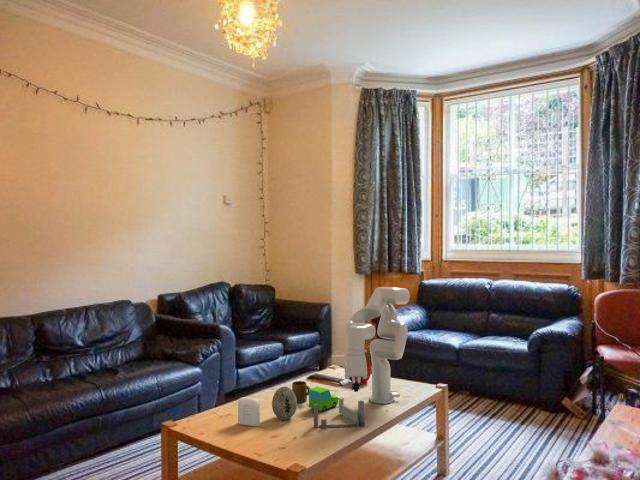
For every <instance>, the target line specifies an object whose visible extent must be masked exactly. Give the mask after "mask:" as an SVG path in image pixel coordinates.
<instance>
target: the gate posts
mask: <svg viewBox="0 0 640 480" xmlns="http://www.w3.org/2000/svg"><path fill="white" fill-rule="evenodd" d="M312 410H313V429H318V428H319V429H321V430H327V429H328V428H329V429H331V428H334V429H335V428H358V427H360V428H365V427H366V426H365V421H366V420H365V419H366V416H365V413H366V412H365V401H364V400H358V401H357V410H358V423H356V424H355V423H354V424H353V423H351V424H349V423H348V424H344V423H343V424H327V423H328V422H327V419H326V418H325V419H322V418H321V419H320V424H319V410H318V404H313V409H312Z"/></svg>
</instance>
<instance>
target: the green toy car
mask: <svg viewBox="0 0 640 480" xmlns="http://www.w3.org/2000/svg"><path fill="white" fill-rule="evenodd" d="M338 398H339V397H338V396H335V395H332V394H331V391H330V389H328V388H325V387H320V386H315V387H312V388H310V389H309V395H308V408H311V409H312V410H313V404H318V411H320V412H323V413H324V412H326V410H327V409H329V408H333V409H334V408H336V407H337V405H339V400H338Z"/></svg>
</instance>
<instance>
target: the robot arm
mask: <svg viewBox="0 0 640 480" xmlns="http://www.w3.org/2000/svg"><path fill="white" fill-rule="evenodd" d="M370 296H371V297H370V298H369V300H368V302H367V304H366V306H363V307H362V308H360V309H359V310H357V311H355V312H354V313H353V314H352V316H351V317H350V319H349V320H348V322H347V324H346V328H345V331H346V333H345V334H346V336H347V354H345V361H344V362H345V363H344V379H345V380H348V381H350V382H351V383H352V390H353V391H354V393H358V392H359V390H360V384H359V383H360V382H361V381H362V380H363V379H366V378H367V358H366V354H365V353H367V352H368V349H366V348H365V340H367V341H368V340H371V339H373V338H374V337H375V335H376V333H377V335H378V337H379V338H375V339H373V340H371V342H370V343H369V353H370V358H371V359H370V360H371V394H372V395H370V396H369V401H370V402H371V403H373V404H379V405H385V404H387V405H388V404H391V403H394V401H395V398H400V396H401V393H400V392H396V391H393V392H392V389H391V386H392V385H391V365H390V362H389V361H388V360H395V361H396V360H397V361H398V360H401V359H402V358H403V356H404V352H405V348H406V347H405V346H406V344H407V343H406V342H407V339H408V334H409V331H408V326H407V324H406V323H405V322H404V321H399V320H397V319H398V312H397V309H396V308H395V306H394V305H406V304H408V303H409V301H410V297H411V295H410V291H409V290H408V289H407V288H405V287H404V288H402V287H393V286H392V287H391V286H379V287H376V288H375V289H374V290H373V292H372V294H371V295H370ZM378 317H380V318H379V323H378V326H377V330H376V327H375V326H374V325H373V324H372V323H367V322H366V323H365V321H369V320H373V319H376V318H378ZM381 338H382V339H381ZM355 377H357V381H356V382H355Z"/></svg>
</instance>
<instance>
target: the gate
mask: <svg viewBox="0 0 640 480" xmlns="http://www.w3.org/2000/svg"><path fill="white" fill-rule="evenodd" d="M344 400H345V397H342V396H341V397H338V413H339V414H342V415H343V416H345V417H346V418H348V419H350V420H352V421H354V422H355V423H356V424H358V409H355V410H354V409H352V408H351V407H348V406H347V405H345V404H344V402H345V401H344Z"/></svg>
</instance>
